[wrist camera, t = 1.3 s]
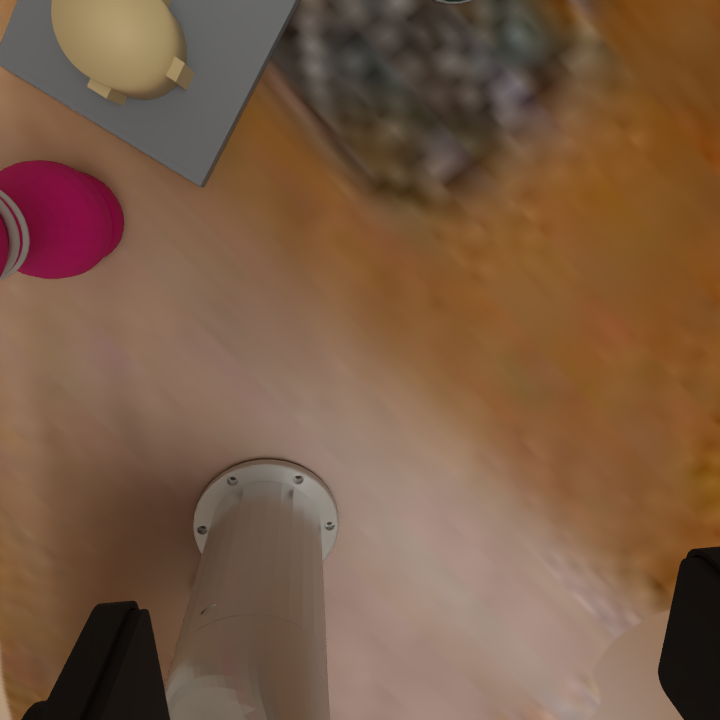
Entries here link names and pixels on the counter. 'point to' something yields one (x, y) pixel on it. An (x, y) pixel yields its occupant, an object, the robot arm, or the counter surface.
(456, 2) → the canned tomato
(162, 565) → the counter surface
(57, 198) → the pepper mill
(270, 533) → the robot arm
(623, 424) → the counter surface
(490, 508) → the counter surface
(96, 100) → the plate
